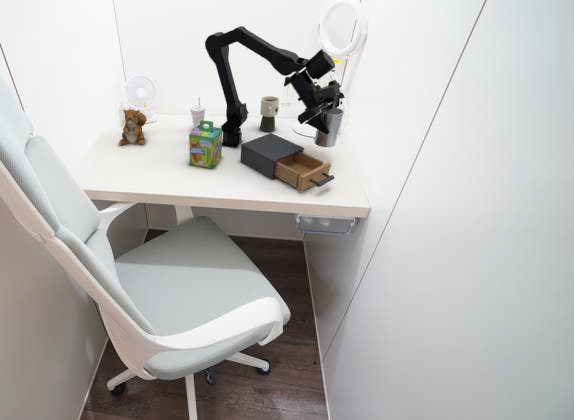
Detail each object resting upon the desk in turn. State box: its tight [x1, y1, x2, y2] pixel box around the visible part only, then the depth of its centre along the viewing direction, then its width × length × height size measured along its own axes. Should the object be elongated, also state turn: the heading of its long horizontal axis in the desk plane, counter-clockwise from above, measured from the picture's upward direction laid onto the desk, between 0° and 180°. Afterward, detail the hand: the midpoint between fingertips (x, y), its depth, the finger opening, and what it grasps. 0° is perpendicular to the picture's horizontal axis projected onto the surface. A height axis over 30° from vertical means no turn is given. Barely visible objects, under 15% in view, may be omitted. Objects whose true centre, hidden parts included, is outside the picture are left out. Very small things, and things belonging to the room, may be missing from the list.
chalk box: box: [188, 120, 223, 170], centre depth 112 cm, size 9×9×15 cm
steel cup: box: [313, 106, 345, 148], centre depth 105 cm, size 7×7×11 cm
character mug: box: [259, 95, 280, 132], centre depth 132 cm, size 11×7×13 cm, turn 171°
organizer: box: [239, 132, 305, 180], centre depth 111 cm, size 15×14×7 cm
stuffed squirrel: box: [118, 108, 148, 146], centre depth 129 cm, size 10×14×13 cm
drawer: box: [274, 151, 335, 193], centre depth 102 cm, size 18×13×5 cm
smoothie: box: [189, 96, 207, 130], centre depth 134 cm, size 6×6×14 cm
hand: (332, 129), depth 104 cm, fingers closed on steel cup, 7 cm apart
